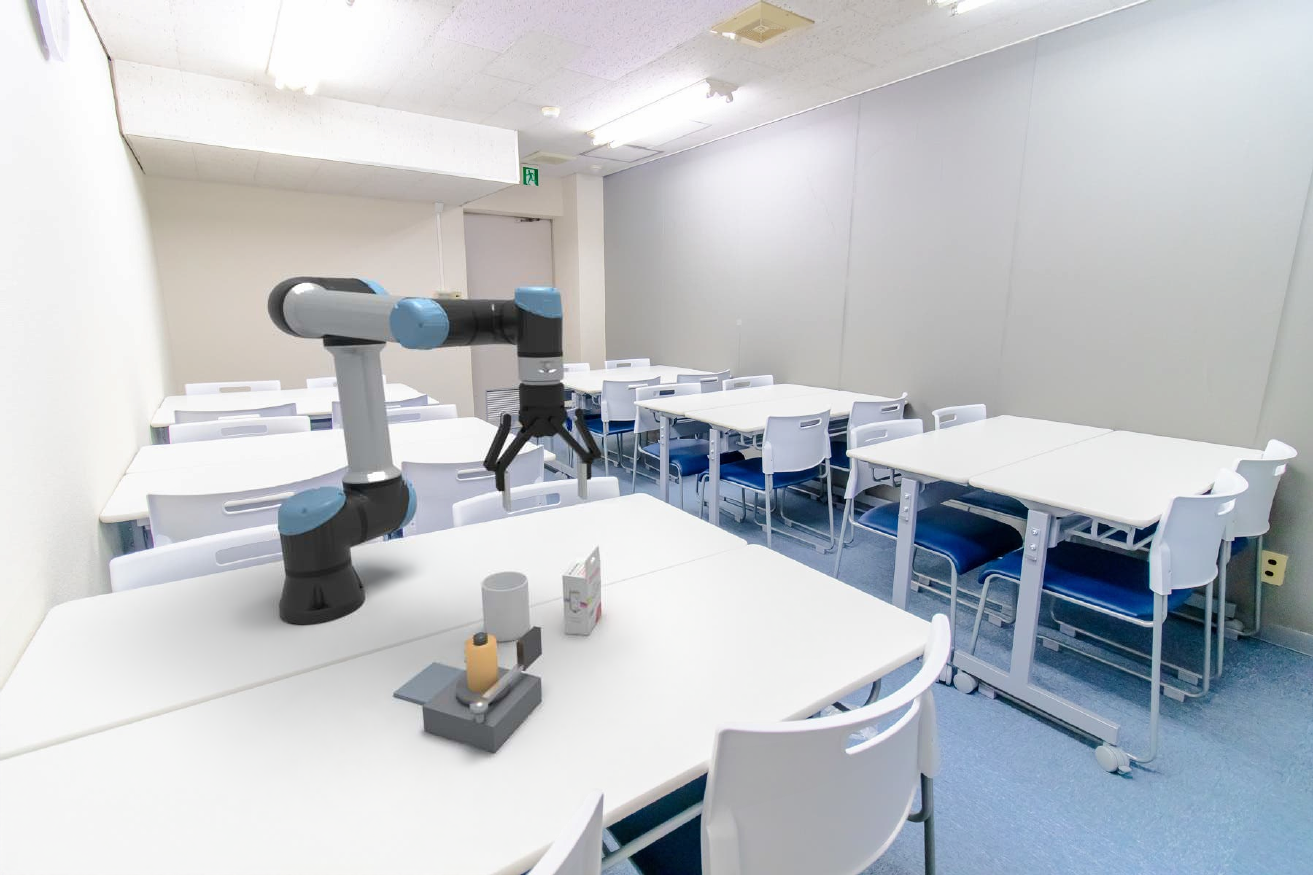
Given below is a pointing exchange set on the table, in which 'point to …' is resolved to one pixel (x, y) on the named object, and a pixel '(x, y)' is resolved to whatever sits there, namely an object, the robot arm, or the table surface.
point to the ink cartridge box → (582, 594)
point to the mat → (427, 683)
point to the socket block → (486, 729)
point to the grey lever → (526, 655)
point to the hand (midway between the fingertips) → (545, 503)
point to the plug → (480, 669)
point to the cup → (506, 605)
